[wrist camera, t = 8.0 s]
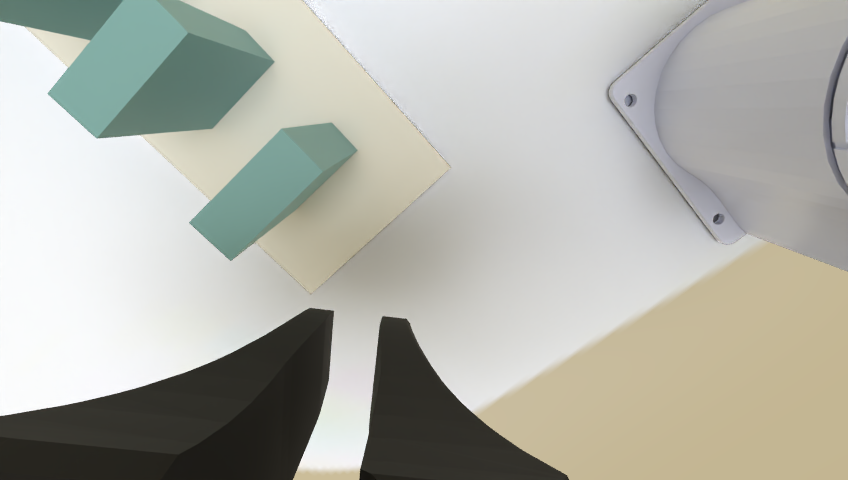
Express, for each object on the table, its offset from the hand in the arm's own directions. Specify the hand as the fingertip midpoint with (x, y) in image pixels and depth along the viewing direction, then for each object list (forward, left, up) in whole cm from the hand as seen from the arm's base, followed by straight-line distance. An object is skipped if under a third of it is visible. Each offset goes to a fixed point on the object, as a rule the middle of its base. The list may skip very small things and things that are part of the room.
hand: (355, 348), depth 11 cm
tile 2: (+10, 0, -10) cm, 14 cm away
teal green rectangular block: (+5, 0, -10) cm, 11 cm away
